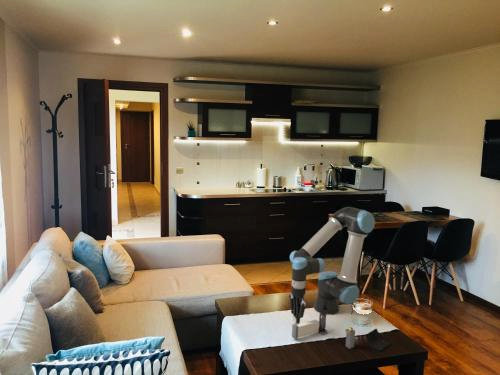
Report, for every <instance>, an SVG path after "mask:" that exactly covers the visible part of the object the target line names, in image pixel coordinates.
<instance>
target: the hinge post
mask: <svg viewBox="0 0 500 375" xmlns="http://www.w3.org/2000/svg"><path fill="white" fill-rule="evenodd" d="M318 321H319V329H318V332H317V333H316V334H318V335H321V336H326V335H327V334H328V330H327V329H326V327H327V326H326V324H327V314H324V313H319V318H318ZM325 334H326V335H325Z"/></svg>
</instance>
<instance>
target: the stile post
mask: <svg viewBox="0 0 500 375" xmlns="http://www.w3.org/2000/svg"><path fill="white" fill-rule="evenodd" d="M344 332H346V334H345V335H346V336H345V347H346V348H348V349H354V348H355V340H356V330H354V328H353V327H351V326H350V327H349V328H348V329H347V328H346V329H344Z"/></svg>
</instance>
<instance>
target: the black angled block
mask: <svg viewBox="0 0 500 375" xmlns="http://www.w3.org/2000/svg"><path fill="white" fill-rule="evenodd" d="M364 337H365V338H366V340H367V342H368V345H369V348H371V349H373V350H376V351H378V352H379V353H380V352H382V351H384V350H386V349H387V348H388V347H389V346H391V344H392V343H391V342H390V341H387V340H384V338H382V337H381V334H380V332H379V330H378V329H377V328H375V329H373V330H371V331H370V332H368V333H366V334H365V335H364Z"/></svg>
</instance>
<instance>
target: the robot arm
mask: <svg viewBox="0 0 500 375" xmlns="http://www.w3.org/2000/svg"><path fill="white" fill-rule="evenodd" d="M373 215H374V214H372V213H371V212H370V211H367V210H365V209H360V208H356V207H352V206H346V207H342V208H341V209H339V210H337V211H336V212H335V213H333V214H332V215H331V216H330V217H329V218H328V221H327V223H326V224H324V225H323V226H322V228H320V229H319V230H318V231H317V232H316V233H315V234H314V235H313V236H312V237H311V238H310V239H309V240H308V241H307V242H306V243H305V244H304V245H303V246H302V247H301V248H300V249H299V250H293V251H292V252H291V253H290V254H289V261H290V262H291V265H292V266H291V267H292V269H291V287H290V290H291V291H290V294H289V296H288V298H289V304H290V313H291V315H292V316H293V324H296V325H298V324H301V319H302V318H304V315H305V310H306V306H307V305H308V303H307V302H305V298H304V296H305V295H306V287H307V276H310V275H314V274H315V275H316V274H319V275H318V279H317V280H318V282H317V296H316V299H315V301H314V304H313V309H314V311H316V312H318V313H319V314H321V313H324V314H326V315H335V314H338V313H339V311H340V305H339V302H340V303H343V304H345V305H351V304H353V303H354V302H356V300H358V298H359V295H360V289H359V287H358V286H357V285H358V281H357V279H356V277H357V272H358V266H359V264H360V263H359V262H360V258H361V253H362V249H363V244H364V240H365V238H366V237H367V236H368V235H369V233H371V232H372V231H373V230H374V228H375V224H376V220H375V217H374V216H373ZM345 227H346V228H347V230H346V231H347V232H348V239H347V242H346V247H345V251H344V255H343V261H342V264H341V270H340V273H338V272H336V271H333V270H331V271H328V270H327V271H325V270H326V263H325V261H324V259H322V258H321V257H320V258H319V257H318V258H314V257H313V256H314V255H315V254H316V253H317V252H318V251H320V249H321V248H322V247H323V246H324V245H325V244H326V243H327V242H328V241H329V240H330V239H331V238H332V237H333V236H334V235H335V234H336V233H338V231H342V229H344V228H345Z"/></svg>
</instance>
